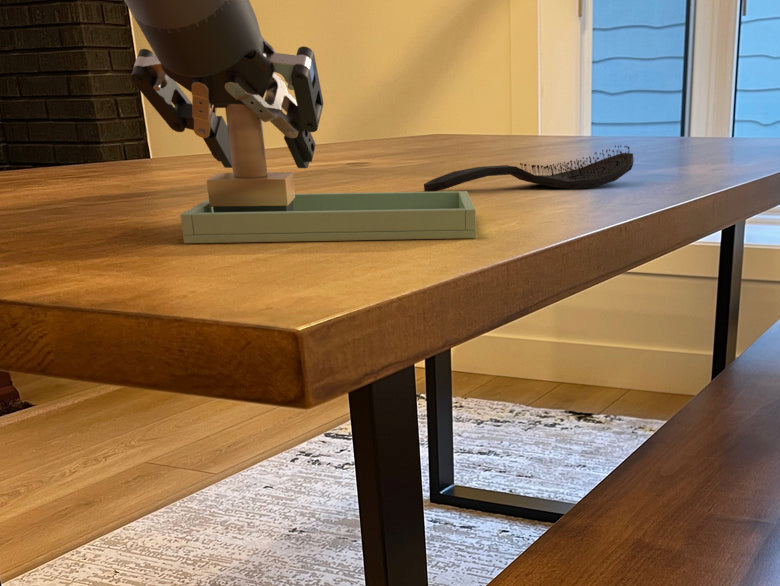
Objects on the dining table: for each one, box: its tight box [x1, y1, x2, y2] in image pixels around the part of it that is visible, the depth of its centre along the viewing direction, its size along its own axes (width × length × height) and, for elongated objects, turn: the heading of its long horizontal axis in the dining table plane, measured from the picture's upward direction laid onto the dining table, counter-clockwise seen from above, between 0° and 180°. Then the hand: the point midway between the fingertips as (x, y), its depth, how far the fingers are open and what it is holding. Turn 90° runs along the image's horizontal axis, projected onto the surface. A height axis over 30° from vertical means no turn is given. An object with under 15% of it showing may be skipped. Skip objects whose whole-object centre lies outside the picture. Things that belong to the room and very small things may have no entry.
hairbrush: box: [423, 144, 635, 192], centre depth 110 cm, size 8×4×25 cm
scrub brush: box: [206, 104, 296, 213], centre depth 77 cm, size 6×4×10 cm, turn 93°
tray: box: [179, 190, 477, 245], centre depth 80 cm, size 22×14×2 cm, turn 95°
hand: (268, 159), depth 82 cm, fingers open, 5 cm apart
